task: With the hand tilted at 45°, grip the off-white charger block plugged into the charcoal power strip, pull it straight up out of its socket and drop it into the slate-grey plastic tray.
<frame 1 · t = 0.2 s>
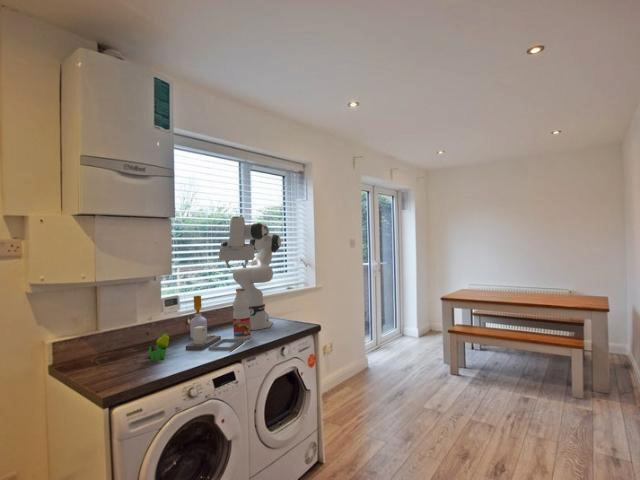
hand: (236, 268, 208), 39 cm above the worktop, tool pointing down, fingers open, 8 cm apart
fruit juice: (242, 339, 204), on the worktop
charger: (200, 346, 188), point 1 cm above the worktop, touching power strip
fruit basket: (159, 358, 175), on the worktop
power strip: (204, 346, 192), on the worktop
tray: (226, 347, 187), on the worktop
soap bottle: (199, 338, 210), on the worktop
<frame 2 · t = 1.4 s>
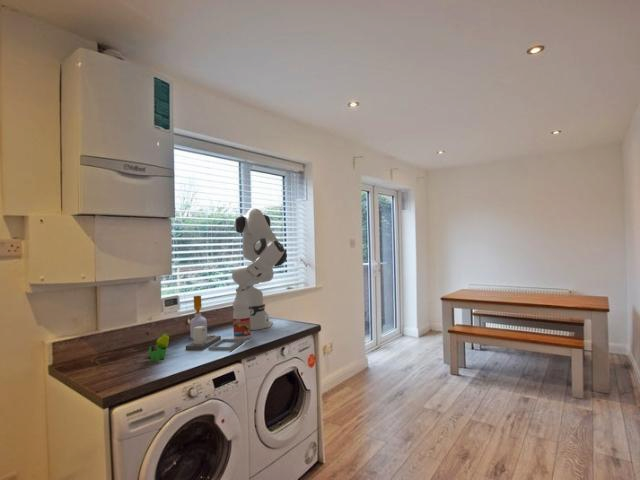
hand: (242, 290, 184), 29 cm above the worktop, tool tilted 45°, fingers open, 8 cm apart
nothing on the worktop moved.
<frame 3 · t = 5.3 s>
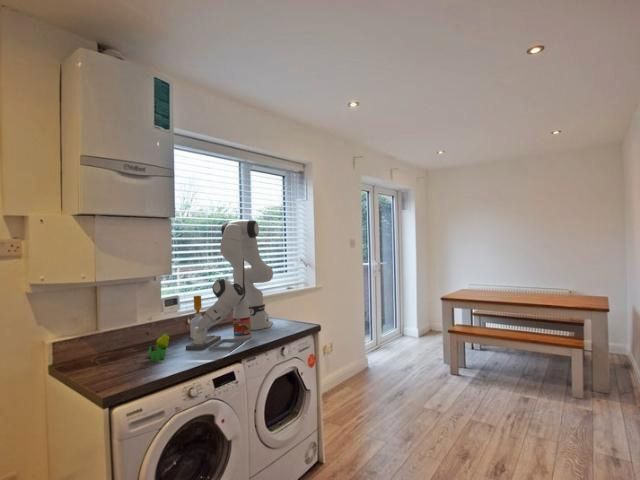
hand: (202, 330, 187), 9 cm above the worktop, tool tilted 45°, fingers open, 8 cm apart
nothing on the worktop moved.
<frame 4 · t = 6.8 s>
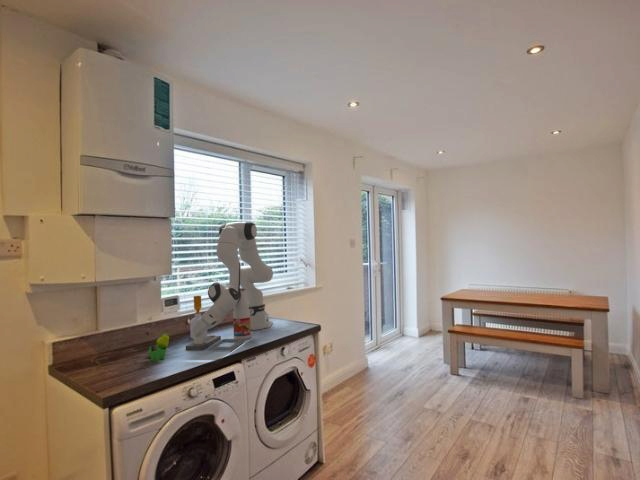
hand: (198, 334, 188), 7 cm above the worktop, tool tilted 45°, fingers closed on charger, 4 cm apart
fruit juice: (242, 339, 204), on the worktop, touching arm
charger: (200, 346, 188), point 1 cm above the worktop, touching gripper, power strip
everything else where it was.
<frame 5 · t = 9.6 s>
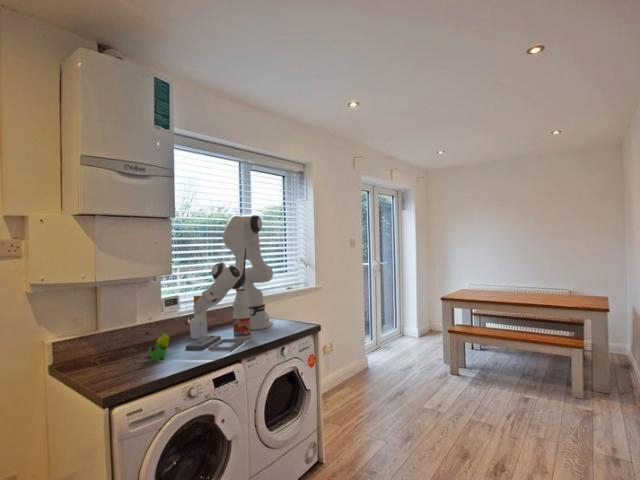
hand: (199, 312, 188), 18 cm above the worktop, tool tilted 45°, fingers closed on charger, 4 cm apart
fruit juice: (242, 339, 204), on the worktop
charger: (200, 324, 188), point 12 cm above the worktop, touching gripper
everything else where it was.
when the fingers open (9 cm above the worktop, at t = 12.5 s): charger drops 2 cm, resting on tray.
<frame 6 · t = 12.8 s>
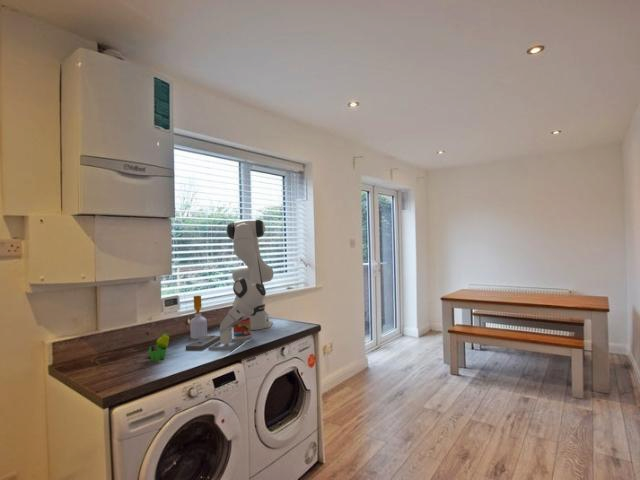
hand: (224, 330, 187), 9 cm above the worktop, tool tilted 45°, fingers open, 7 cm apart
charger: (226, 346, 187), point 1 cm above the worktop, touching tray
everything else where it was.
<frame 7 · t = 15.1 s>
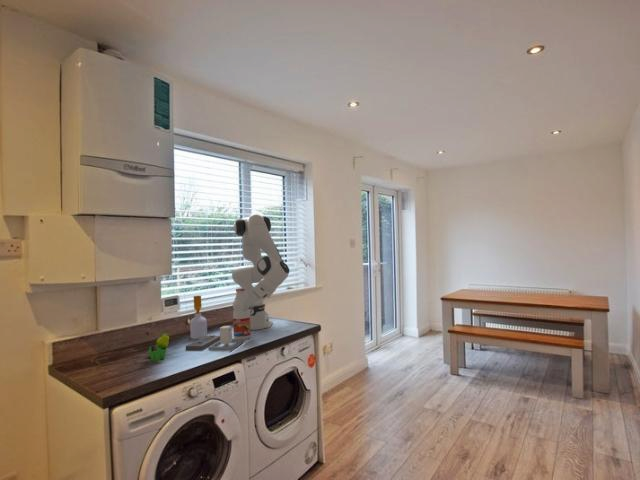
hand: (247, 308, 185), 20 cm above the worktop, tool tilted 45°, fingers open, 8 cm apart
nothing on the worktop moved.
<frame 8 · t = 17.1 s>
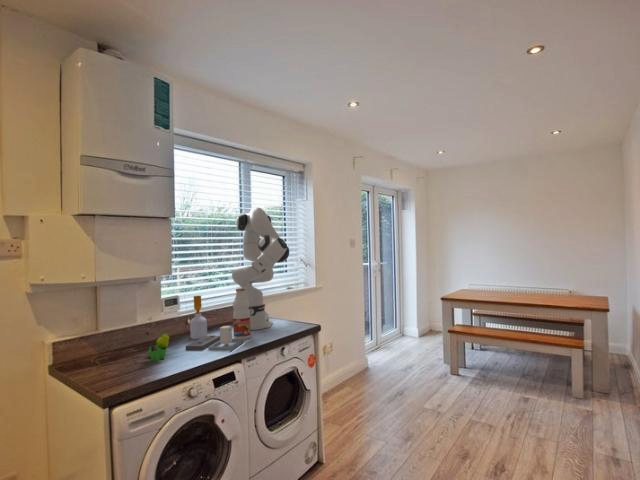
hand: (246, 284, 191), 31 cm above the worktop, tool tilted 45°, fingers open, 8 cm apart
nothing on the worktop moved.
at the end: charger inside the target area on the tray (0.1 cm from its centre), point 0.6 cm above the tray's base; charger touching tray; the gripper is holding nothing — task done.
